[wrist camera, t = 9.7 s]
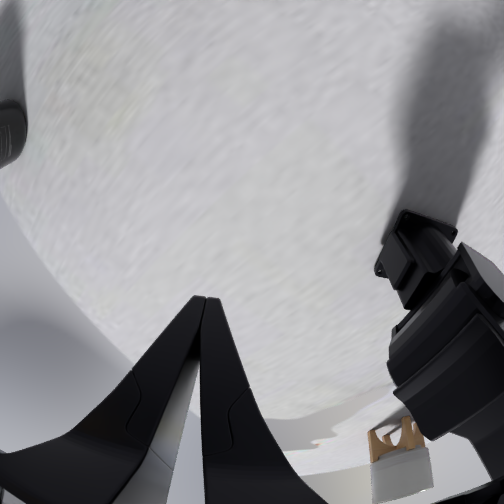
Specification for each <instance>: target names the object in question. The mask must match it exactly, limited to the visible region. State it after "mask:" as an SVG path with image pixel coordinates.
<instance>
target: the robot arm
mask: <svg viewBox="0 0 504 504" xmlns="http://www.w3.org/2000/svg"><path fill="white" fill-rule="evenodd" d="M405 215H408V216H407V217H406V218H404V216H405ZM452 231H453V233H452ZM457 233H458V230H457V229H456V227H454V226H452V225H450V224H447V223H444V222H442V221H439V220H436V219H433V218H430V217H428V216H425V215H422V214H419V213H416V212H413V211H410V210H406V209H405V210H403V211H402V212H401V213H400V215H399V217H398V220H397V222H396V224H395V227H394V229H393V231H392V232H391V233H390V235H389V237H388V239H387V241H386V243H385V246H384V248H383V250H382V252H381V254H380V256H379V260H378V262H377V264H376V266H375V268H374V272H375V275H376V276H378V277H383V278H388V279H389V280H390V283H391V285H392V287H393V289H394V290H397V293H398V295H399V297H400V300H401V302H402V304H403V307H404V309H406V310H410V312H409V313H408V314H407V315H406V316H405V317H404V319H403V320H402V321H401V322H400V323H399V324H398V325H396V326H395V327H394V328H393V329H392V339H391V343H390V345H389V360H388V361H387V368H388V371H389V374H390V376H391V378H392V380H393V382H394V384H395V386H396V387H397V389H395V390H394V391H393V394H394V395H395V396H396V397H397V398H398V399H399V400H400V401H402V402H403V403H404V405H405V406H406V407H407V408H408V410H409V411H410V412H411V414H412V416H413V418H414V420H415V422H416V424H417V426H418V428H419V430H420V432H421V434H422V435H424V436H425V437H426V438H428V439H429V440H430V441H435V440H437V439H438V438H440V437H442V436H444V435H445V434H447V433H449V432H450V433H453V434H455V435H458V436H461V437H464V438H467V439H468V440H469V441H470V442H471V444H472V445H473V447H474V449H475V450H476V452H477V454H478V456H479V458H480V459H481V461H482V463H483V464H484V467H485V468H486V470H487V472H488V474H489V476H490V478H491V480H492V481H491V482H488V483H486V484H484V485H481V486H479V487H476V488H473V489H471V490H468V491H465V492H463V493H460V494H457V495H454V496H450V497H448V498H445V499H443V500H440V501H437V502H435V503H432V504H504V275H503V273H502V272H501V271H500V270H499V269H498V268H497V266H496V265H495V264H494V263H493V262H492V261H490V260H489V259H487V258H486V257H484V256H483V255H482V254H480V253H479V252H477V251H476V250H474V249H472V248H471V247H469V246H468V245H466V244H465V243H463V242H461V243H460V244H459V246H458V247H457V249H458V250H456V248H455V247H454V246H453V245H452V243H453V241H454V240H455V238H456V236H457ZM379 270H381V271H380V272H378V271H379ZM199 365H200V412H201V439H202V456H203V476H204V492H205V504H328V503H327V502H326V501H325V500H323V499H322V498H321V497H320V496H319V495H318V494H317V493H316V492H315V491H314V490H313V489H311V488H310V487H309V486H308V485H307V484H306V483H305V482H304V481H303V480H302V479H301V478H300V477H299V476H298V474H297V473H296V472H295V471H294V469H293V468H292V467H291V465H290V464H289V462H288V461H287V459H286V457H285V456H284V454H283V452H282V451H281V449H280V447H279V446H278V444H277V442H276V440H275V439H274V437H273V435H272V434H271V432H270V430H269V428H268V426H267V425H266V423H265V421H264V419H263V417H262V415H261V413H260V410H259V408H258V406H257V403H256V401H255V398H254V396H253V393H252V390H251V388H250V385H249V382H248V380H247V377H246V374H245V371H244V368H243V366H242V363H241V360H240V357H239V354H238V351H237V348H236V346H235V343H234V340H233V337H232V334H231V331H230V328H229V325H228V322H227V319H226V316H225V313H224V310H223V306H222V303H221V300H220V299H219V298H213V297H207V299H206V297H205V296H197V295H194V296H193V297H192V298H191V299H190V300H189V301H188V302H187V303H186V305H185V306H184V307H183V308H182V309H181V311H180V312H179V313H178V314H177V315H176V316H175V318H174V319H173V320H172V321H171V322H170V324H169V325H168V326H167V327H166V328H165V329H164V331H163V332H162V333H161V334H160V335H159V337H158V338H157V339H156V340H155V341H154V343H153V344H152V345H151V346H150V347H149V349H148V350H147V351H146V352H145V353H144V355H143V356H142V357H141V358H140V359H139V361H138V362H137V363H136V364H135V365H134V367H133V368H132V370H131V371H129V372H128V374H127V375H126V376H125V377H124V379H123V380H122V381H121V382H120V383H119V384H118V386H117V387H116V388H115V389H114V390H113V391H112V392H111V393H110V394H109V395H108V396H107V397H106V398H105V399H104V400H103V401H102V402H101V403H100V404H99V405H98V406H97V407H96V408H94V409H93V410H92V411H91V412H90V413H89V414H88V415H87V416H86V417H85V418H84V419H83V420H82V421H81V422H79V423H78V424H77V425H76V426H75V427H74V428H73V429H72V430H70V431H69V432H67V433H66V434H64V435H62V436H60V437H58V438H55V439H52V440H50V441H47V442H44V443H41V444H38V445H35V446H32V447H29V448H26V449H22V450H19V451H16V452H12V453H6V452H4V451H2V450H0V504H166V502H167V497H168V493H169V488H170V484H171V480H172V475H173V470H174V466H175V462H176V458H177V454H178V449H179V445H180V441H181V437H182V433H183V428H184V424H185V420H186V416H187V412H188V408H189V404H190V400H191V396H192V392H193V388H194V384H195V381H196V377H197V373H198V369H199Z"/></svg>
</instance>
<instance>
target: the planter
mask: <svg viewBox="0 0 504 504" xmlns="http://www.w3.org/2000/svg"><path fill="white" fill-rule="evenodd" d="M401 421H402V433H401V438H400V441H399V443H398V444H397V446H394V445H393V444H392V442H391V439H390V435H384V436H383V437H382V440H383V442H381V441H380V440H379V438H378V437H377V435H376V432H375V430H370V431H369V432H368V441H369V450H370V461H371V463H372V464H371V465H370V469H371V484H372V502H373V504H378V503H383V502H387V501H392V500H396V499H399V498H403V497H407V496H410V495H413V494H416V493H419V492H422V491H425V490H428V489H431V488H433V487H434V485H433V477H432V470H431V463H430V457H429V451H428V448H426V447H425V442H424V437H423V435H422V434H421V432H420V430H419V428H418V426H417V424H416V423H415V424H414V425H413V426H414V430H412V425H411V420H410V416H405V417H403V418H402V419H401Z"/></svg>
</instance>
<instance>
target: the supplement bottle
mask: <svg viewBox="0 0 504 504" xmlns="http://www.w3.org/2000/svg"><path fill="white" fill-rule="evenodd" d="M25 140H26V122H25V117H24V114H23V112H22V109H21V108H20V106H19V105H18V104H17V103H16V102H15V101H13V100H9V99H7V100H2V101H0V169H1V168H3V167H5V166H7V165H8V164H10V163H12V162H13V161H15V160H16V159H17V158H18V157H19V156H20V154H21V152H22V150H23V148H24V144H25Z"/></svg>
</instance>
